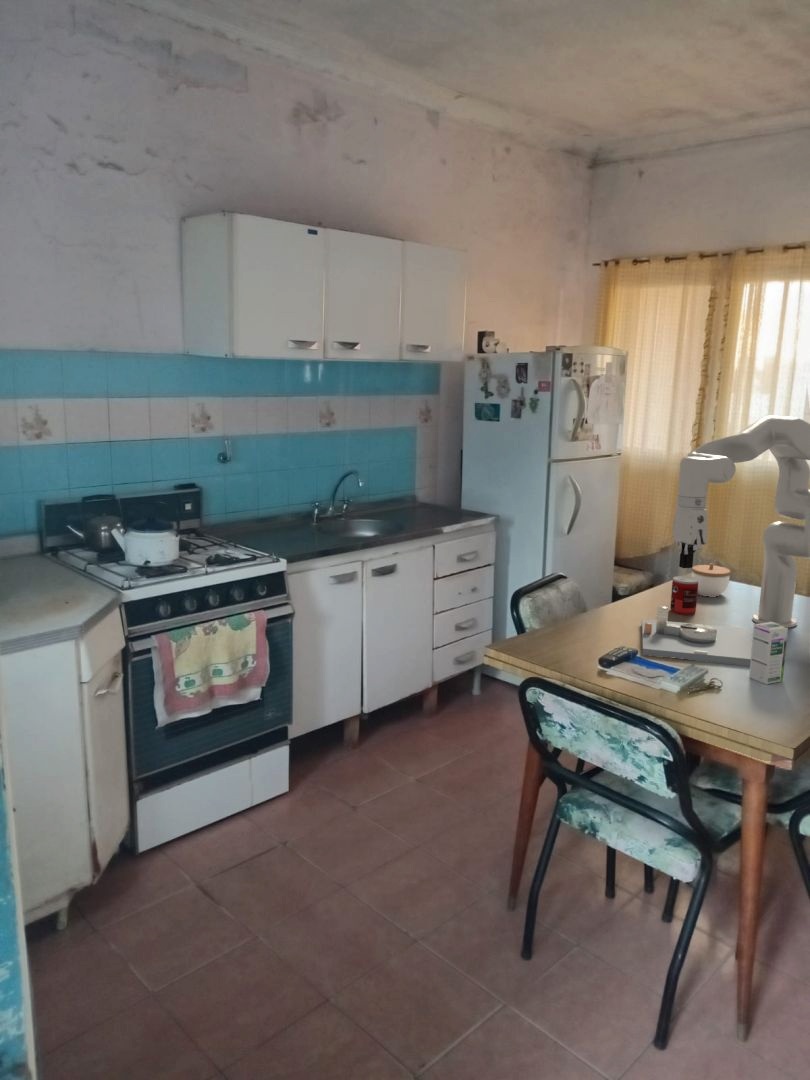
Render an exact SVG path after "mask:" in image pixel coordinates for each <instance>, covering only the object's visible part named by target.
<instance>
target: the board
mask: <svg viewBox="0 0 810 1080" xmlns="http://www.w3.org/2000/svg"><path fill="white" fill-rule="evenodd" d="M656 622H657V619H648V618H647V619H646V618H642V619H641V637H642V638H641V642H642V643H641V645H642V646H641V647H642V648H641V649H643V650H642V656H643V655H651V656H650V657H652V656H662V657H675V658H683V659H689V660H688V661H692V660H699V661H698V662H703V661H708V662H707V663H713V662H714V663H715V664H716V663H717V664H723V663H724V664H725V665H734V666H744V667H750V663H751V652H752V640H753V637H752V636H751V634H750V631H749V629H748V628H747V627H735V626H726V625H725V626H724V625H714V624H713V625H712V624H706V625H707V626H710V627H713V628H715V629H716V630H717V635H716V641H715V642H712V643H695V642H690V641H686V640H684V639H682V638H680V637H679V636H675V635H668V634H660V633H657V632H656ZM667 624H675V625H683V624H693V622H692V623H690V622H681V621H680V622H678V621H667ZM701 624H702V623H701ZM702 625H705V624H702ZM662 657H661V658H662Z"/></svg>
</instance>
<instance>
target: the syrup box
mask: <svg viewBox="0 0 810 1080" xmlns="http://www.w3.org/2000/svg"><path fill="white" fill-rule="evenodd" d="M752 631H753V632H752V652H751V663H750V666H749V678H750V679H753V680H754V681H757V682H758V683H761V684H764V685H770V684H774V683H782V682H783V681H784V674H785V673H784V672H785V671H784V670H785V664H786V663H785V662H786V661H785V660H786V652H787V642H788V641H787V640H788V633H789V632H788V631H789V628H787V627H786V626H783V625H781V624H778V623H774V622H771V621H770V622H767V623H760V624H759V623H755V624H753V630H752Z"/></svg>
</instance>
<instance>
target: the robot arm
mask: <svg viewBox="0 0 810 1080" xmlns="http://www.w3.org/2000/svg"><path fill="white" fill-rule="evenodd" d="M768 450H769V452H771V454H772V456H773V457H774V458H775V460H776V462H777V465H778V478H777V479H778V480H777V485H776V492H775V496H774V504H773V510H774V512H775V513H776V515H778V516H779V517H782V518H786V519H791V520H796V521H800V522H801V521H802V522H804V525H802V524H798V523H793V522H787V521H774V522H772V523H770V524H768V525H767V526H766V527H765V528H764V531H763V534H762V544H763V568H762V578H761V585H760V586H761V587H760V588H761V589H760V596H759V605H758V612H757V613H754V614H753V615H752V621H754V622H755V624H760V623H767V622H770V621H771V622H774V623H778V624H781V625H783V626H786V627H787V628H788V629H789V628H793V627H796V626H797V623H798V622H797V619H796V618H794V617H793V610H794V600H795V593H796V586H797V585H796V583H797V576H798V566H797V562H796V559H795V557H797V558H802V559H807V560H810V488H809V487H810V466H809V463H808V462H807V461H810V423H809V422H807V421H805V420H804V419H802V418H800V417H799V418H798V417H793V416H782V415H781V416H780V415H779V416H778V415H766V416H764V417H761V418H759V419H757V420H756V421H755V422H753V423H752V424H751V425H749V426H747V427H746V428H744V429H743V430H741V431H739V432H738V433H737V434H733V435H729V436H725V437H722V438H720V439H715V440H711V441H709V442H706V443H704V444H702V445H700V446H698V447H697V448H695V449H694V450H692V451H691V452H690V453H688V454H687V456H684V457H683V458H682V459H680V462H679V472H678V473H679V474H678V484H677V485H678V486H677V496H676V497H677V498H676V507H675V512H674V518H673V523H672V537H673V539H674V542H675V544H677V546H678V551H679V553H680V554H679V565H678V567H680V568H681V569H692V567H693V566H694V565H693V564H694V556H695V554H696V551H701V550H702V545H706V544H707V541H708V511H707V509H706V506H707V495H708V485H709V484H710V483H711V484H712V483H713V484H725V483H727V482H729V481H731V480H732V479H733V478H734V475H735V474H736V465H735V464H737V463H738V464H739V463H745V462H750V461H753V460H755V459H756V458H758V457H760V455H762V454H763V453H765V452H767V451H768Z"/></svg>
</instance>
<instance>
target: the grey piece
mask: <svg viewBox="0 0 810 1080" xmlns="http://www.w3.org/2000/svg"><path fill="white" fill-rule="evenodd" d="M668 617H669V606H665V605H658V606H657V613H656V620H657V622H656V632H657V633H660V634H668V635H675V636H679V637H680V638H682V639H684V640H686V641H690V642H695V643H712V642H715V641H716V635H717V630H716V629H715V628H713V627H710V626H707V625H708V624H704V625H702V623H692V624H683V625H675V624H667V621H668V619H669V618H668Z"/></svg>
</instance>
